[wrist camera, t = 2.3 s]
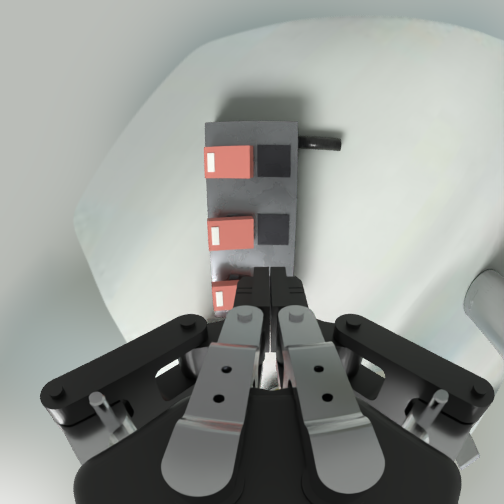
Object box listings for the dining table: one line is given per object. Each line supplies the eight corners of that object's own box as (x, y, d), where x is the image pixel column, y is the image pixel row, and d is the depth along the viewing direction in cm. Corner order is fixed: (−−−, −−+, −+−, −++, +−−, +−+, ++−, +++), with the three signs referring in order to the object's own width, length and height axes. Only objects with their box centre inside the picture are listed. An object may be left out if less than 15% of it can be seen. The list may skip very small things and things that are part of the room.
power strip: (338, 127, 27) (349, 125, 23) (325, 301, 36) (331, 321, 31) (213, 125, 28) (203, 122, 24) (220, 299, 36) (214, 319, 32)
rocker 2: (251, 216, 27) (253, 219, 26) (251, 244, 29) (253, 248, 27) (207, 218, 27) (207, 221, 26) (209, 246, 28) (209, 251, 27)
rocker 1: (253, 145, 24) (249, 145, 23) (253, 177, 25) (249, 178, 24) (209, 146, 25) (203, 147, 24) (210, 176, 26) (204, 178, 25)
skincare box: (439, 426, 49) (456, 469, 34) (460, 411, 47) (480, 453, 32) (444, 433, 51) (459, 472, 36) (464, 419, 49) (481, 458, 34)
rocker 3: (252, 278, 30) (254, 284, 29) (252, 302, 31) (254, 308, 30) (211, 281, 29) (211, 287, 28) (213, 305, 31) (213, 311, 29)
